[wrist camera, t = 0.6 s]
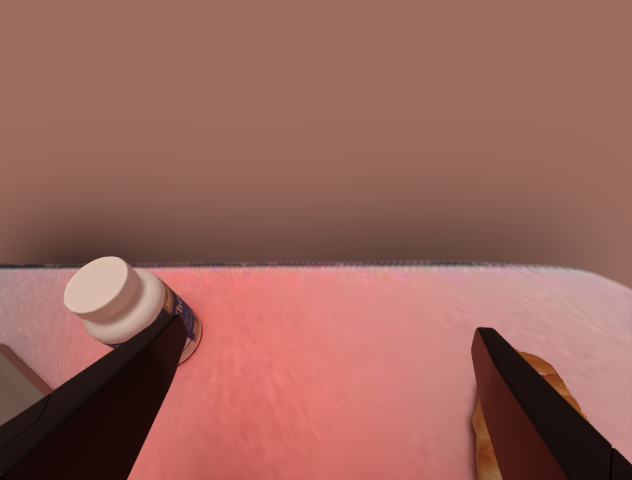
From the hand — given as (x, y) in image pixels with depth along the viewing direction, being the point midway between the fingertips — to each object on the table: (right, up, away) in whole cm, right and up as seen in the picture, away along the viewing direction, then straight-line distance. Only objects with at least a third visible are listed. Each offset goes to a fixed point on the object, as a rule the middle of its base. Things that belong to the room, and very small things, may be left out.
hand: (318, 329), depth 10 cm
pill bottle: (-12, -6, +18) cm, 23 cm away
